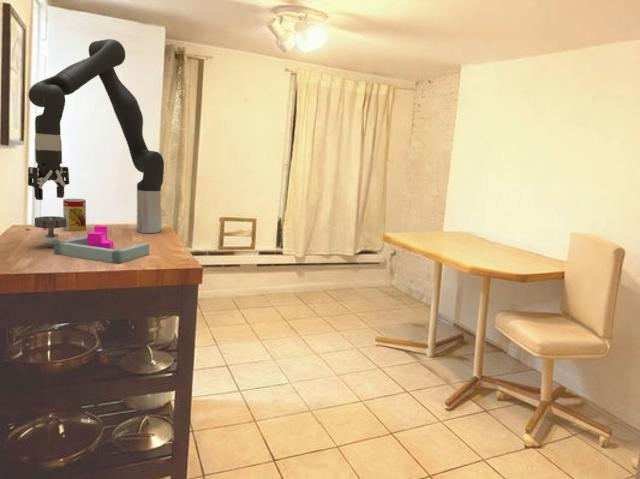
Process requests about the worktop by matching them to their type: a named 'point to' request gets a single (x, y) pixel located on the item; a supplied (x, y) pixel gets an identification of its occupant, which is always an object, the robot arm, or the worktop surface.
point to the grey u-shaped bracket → (99, 251)
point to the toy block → (99, 238)
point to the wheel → (50, 222)
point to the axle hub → (50, 238)
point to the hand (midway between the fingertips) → (49, 198)
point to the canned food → (74, 214)
